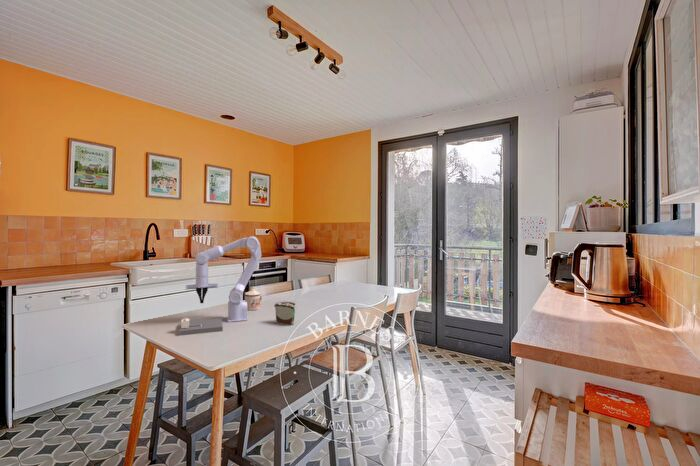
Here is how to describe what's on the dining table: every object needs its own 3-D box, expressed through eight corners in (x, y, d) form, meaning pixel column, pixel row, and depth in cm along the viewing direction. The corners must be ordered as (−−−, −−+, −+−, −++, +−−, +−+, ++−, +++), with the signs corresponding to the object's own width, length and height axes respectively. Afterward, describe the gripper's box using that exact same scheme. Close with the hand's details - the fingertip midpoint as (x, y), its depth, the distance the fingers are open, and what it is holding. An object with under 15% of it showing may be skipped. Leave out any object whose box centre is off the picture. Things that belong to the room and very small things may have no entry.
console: (221, 321, 168) (221, 317, 168) (222, 331, 154) (222, 326, 154) (181, 324, 161) (181, 320, 161) (178, 335, 147) (178, 330, 147)
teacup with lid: (252, 311, 188) (252, 291, 187) (240, 309, 192) (240, 289, 192) (267, 307, 198) (267, 287, 198) (256, 304, 203) (256, 285, 202)
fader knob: (189, 324, 155) (189, 317, 154) (188, 327, 151) (188, 319, 150) (181, 325, 153) (182, 317, 153) (181, 328, 149) (181, 320, 149)
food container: (301, 322, 169) (301, 303, 169) (294, 326, 164) (294, 305, 163) (281, 319, 174) (281, 300, 174) (273, 322, 169) (274, 302, 168)
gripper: (185, 277, 160) (185, 305, 161) (217, 276, 166) (217, 303, 167) (186, 275, 167) (186, 302, 167) (217, 274, 173) (217, 300, 173)
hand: (201, 302), depth 167 cm, fingers closed
